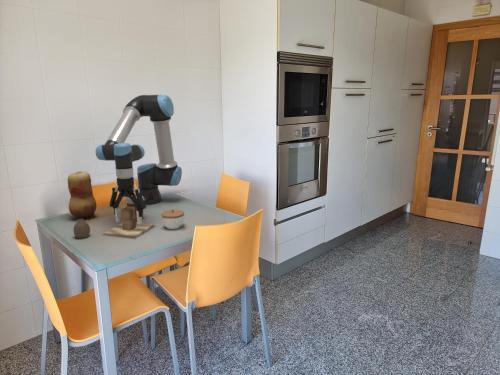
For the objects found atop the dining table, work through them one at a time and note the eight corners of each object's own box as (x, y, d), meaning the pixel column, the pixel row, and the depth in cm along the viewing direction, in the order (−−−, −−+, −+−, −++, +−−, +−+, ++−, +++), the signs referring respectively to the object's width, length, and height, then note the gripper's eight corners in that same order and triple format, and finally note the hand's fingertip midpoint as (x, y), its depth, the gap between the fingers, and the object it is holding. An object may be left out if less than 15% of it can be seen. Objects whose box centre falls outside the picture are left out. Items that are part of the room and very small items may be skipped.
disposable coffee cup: (123, 220, 187) (121, 198, 184) (136, 215, 195) (134, 194, 192) (136, 223, 183) (134, 200, 180) (149, 218, 191) (148, 196, 188)
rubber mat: (125, 223, 183) (125, 222, 183) (156, 226, 178) (156, 226, 178) (101, 235, 166) (101, 235, 166) (135, 239, 161) (135, 239, 161)
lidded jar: (182, 231, 171) (181, 213, 169) (160, 231, 171) (158, 213, 169) (186, 224, 182) (185, 206, 179) (165, 224, 182) (164, 206, 180)
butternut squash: (65, 222, 186) (59, 174, 180) (76, 214, 199) (71, 169, 193) (92, 221, 186) (87, 174, 180) (102, 213, 199) (97, 169, 193)
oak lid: (125, 223, 182) (123, 202, 179) (153, 226, 177) (152, 205, 175) (104, 234, 167) (102, 211, 164) (134, 238, 162) (132, 214, 160)
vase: (86, 233, 169) (84, 215, 167) (93, 237, 165) (91, 218, 163) (71, 237, 164) (69, 219, 162) (78, 241, 160) (76, 222, 158)
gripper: (98, 177, 166) (103, 222, 171) (142, 180, 159) (146, 227, 164) (108, 174, 173) (113, 217, 178) (151, 176, 166) (155, 221, 171)
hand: (129, 222), depth 171 cm, fingers open, 11 cm apart
